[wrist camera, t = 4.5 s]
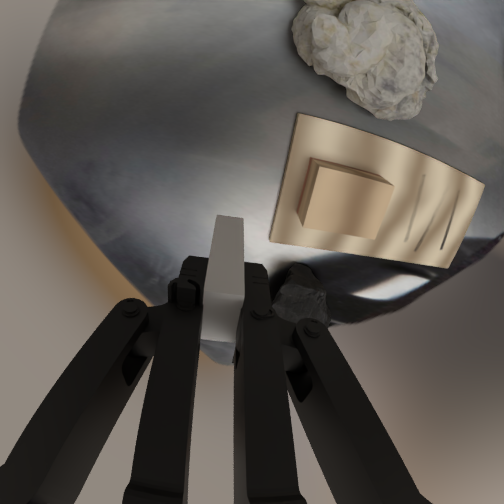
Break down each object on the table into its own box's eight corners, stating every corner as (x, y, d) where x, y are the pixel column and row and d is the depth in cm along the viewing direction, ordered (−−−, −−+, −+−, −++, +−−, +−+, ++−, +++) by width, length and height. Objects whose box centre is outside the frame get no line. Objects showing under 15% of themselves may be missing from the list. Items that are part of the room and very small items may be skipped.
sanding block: (296, 211, 28) (302, 227, 25) (310, 157, 25) (319, 166, 22) (362, 224, 29) (374, 239, 26) (379, 175, 26) (395, 186, 23)
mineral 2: (377, -41, 11) (371, -78, 5) (452, 102, 19) (481, 127, 12) (277, -2, 19) (231, -19, 12) (352, 127, 27) (338, 159, 20)
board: (269, 238, 31) (269, 242, 30) (297, 112, 23) (299, 113, 23) (445, 265, 34) (447, 268, 33) (481, 182, 27) (484, 185, 26)
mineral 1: (351, 276, 34) (365, 306, 29) (318, 321, 39) (326, 353, 34) (281, 254, 32) (288, 286, 27) (254, 306, 37) (255, 340, 32)
